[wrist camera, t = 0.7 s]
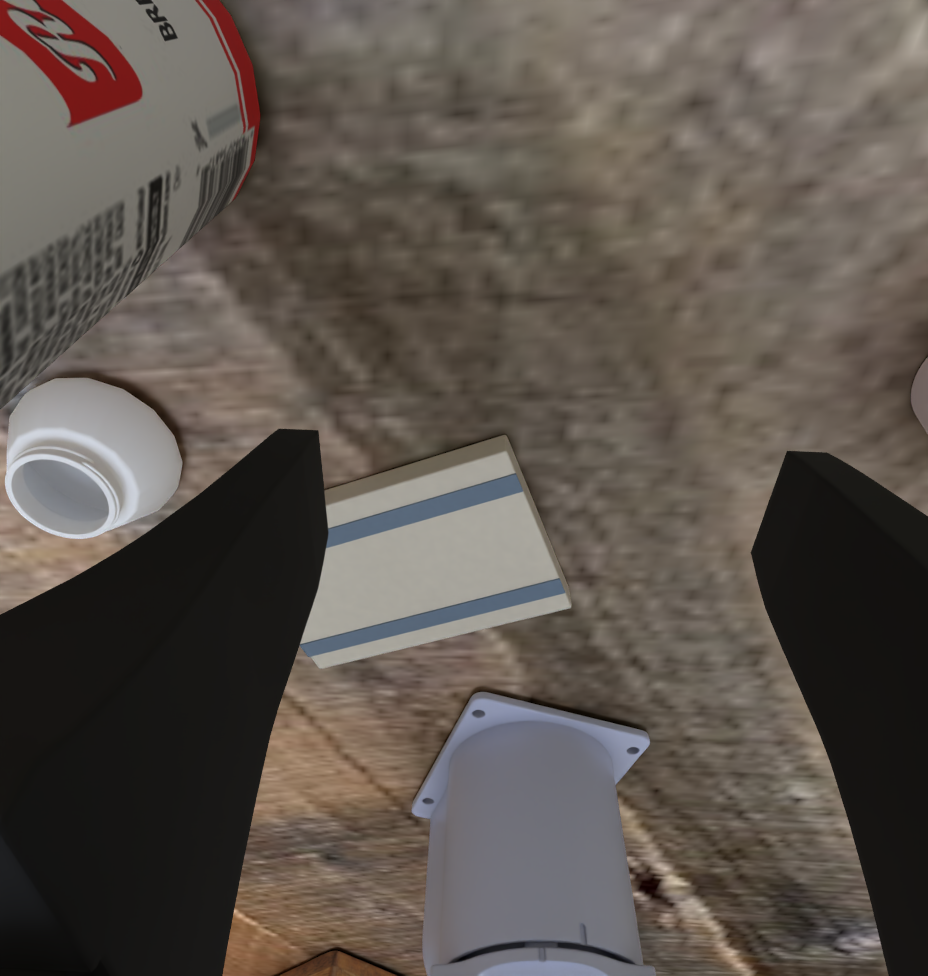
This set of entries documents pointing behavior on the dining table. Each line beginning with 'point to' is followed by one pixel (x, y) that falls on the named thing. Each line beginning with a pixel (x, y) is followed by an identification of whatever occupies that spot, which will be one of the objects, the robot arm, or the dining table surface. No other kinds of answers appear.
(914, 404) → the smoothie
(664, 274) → the dining table surface
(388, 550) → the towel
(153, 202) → the beer can
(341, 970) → the wooden box
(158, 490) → the lidless jar
